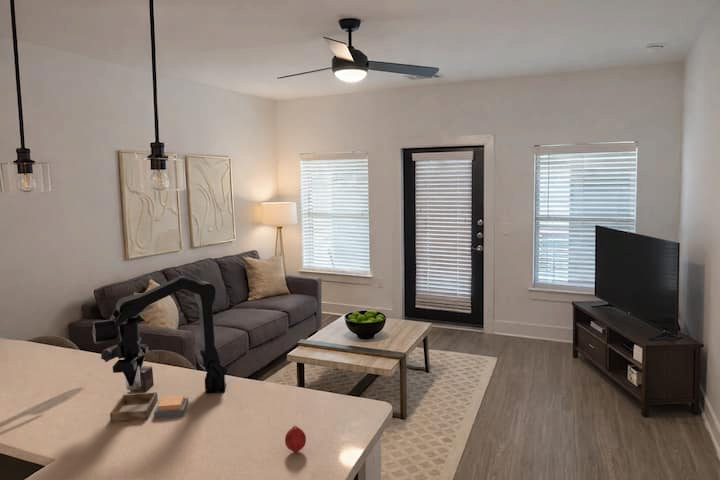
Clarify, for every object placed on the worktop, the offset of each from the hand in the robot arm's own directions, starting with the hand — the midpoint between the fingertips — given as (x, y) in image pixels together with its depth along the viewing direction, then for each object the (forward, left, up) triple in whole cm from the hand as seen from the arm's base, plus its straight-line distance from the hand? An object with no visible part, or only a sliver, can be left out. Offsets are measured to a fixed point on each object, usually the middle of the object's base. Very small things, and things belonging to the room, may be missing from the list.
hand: (133, 382), depth 167 cm
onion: (-51, +35, -10) cm, 63 cm away
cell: (0, 0, -2) cm, 2 cm away
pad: (-12, +2, -8) cm, 15 cm away
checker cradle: (-12, +2, -10) cm, 16 cm away
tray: (0, 0, -10) cm, 10 cm away
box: (+3, -18, -10) cm, 21 cm away
